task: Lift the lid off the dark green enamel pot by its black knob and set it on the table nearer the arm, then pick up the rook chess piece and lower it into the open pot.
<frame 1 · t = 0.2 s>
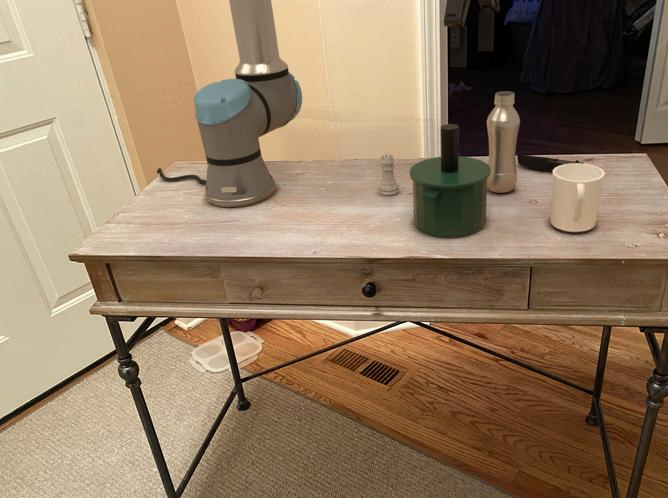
hand: (472, 58, 110), 28 cm above the table, tool pointing down, fingers open, 13 cm apart
mug: (572, 228, 113), on the table
electric trimmer: (551, 172, 136), on the table
rook chess piece: (389, 193, 132), on the table
lid: (449, 173, 112), point 10 cm above the table, touching pot
silver metal bottle: (500, 191, 129), on the table
pot: (449, 222, 118), on the table
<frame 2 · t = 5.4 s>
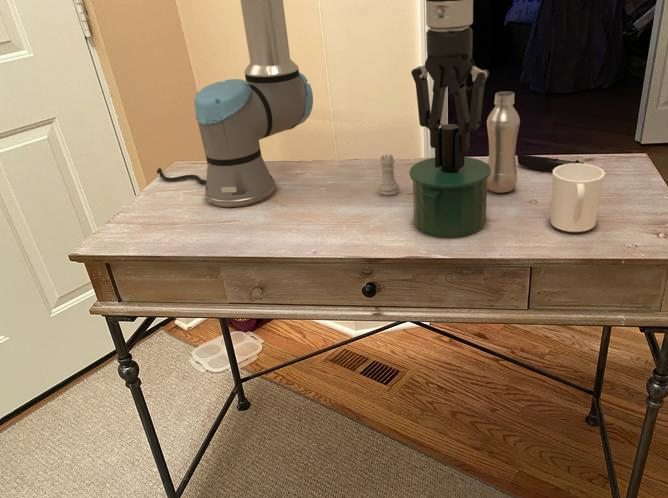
hand: (449, 165, 111), 11 cm above the table, tool pointing down, fingers closed on lid, 3 cm apart
lid: (449, 173, 112), point 10 cm above the table, touching gripper, pot
everything else where it was.
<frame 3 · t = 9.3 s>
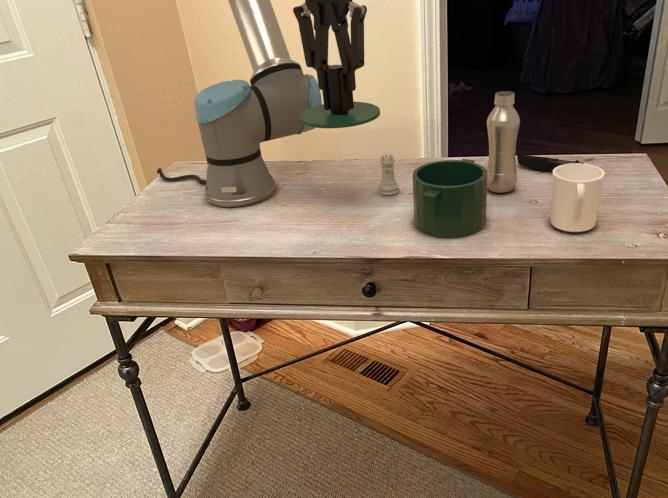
hand: (339, 108, 111), 22 cm above the table, tool pointing down, fingers closed on lid, 3 cm apart
lid: (339, 115, 111), point 20 cm above the table, touching gripper
everything else where it was.
when the fingers open (2 cm above the table, at t = 13.7 s): lid stays where it is, point 1 cm above the table.
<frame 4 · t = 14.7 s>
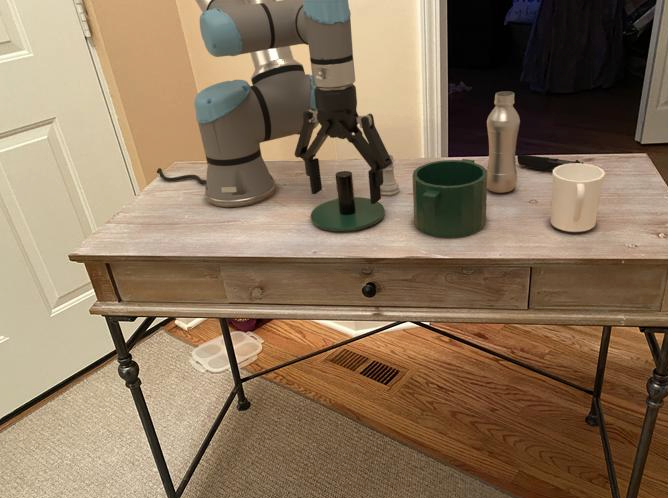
hand: (345, 196, 120), 4 cm above the table, tool pointing down, fingers open, 13 cm apart
lid: (347, 214, 122), point 1 cm above the table
everything else where it was.
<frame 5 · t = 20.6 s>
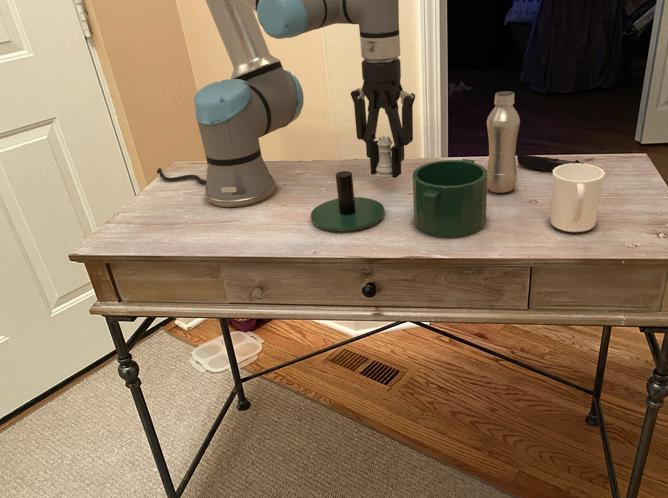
hand: (386, 173, 130), 4 cm above the table, tool pointing down, fingers closed on rook chess piece, 4 cm apart
rook chess piece: (386, 176, 130), point 4 cm above the table, touching gripper
everything else where it was.
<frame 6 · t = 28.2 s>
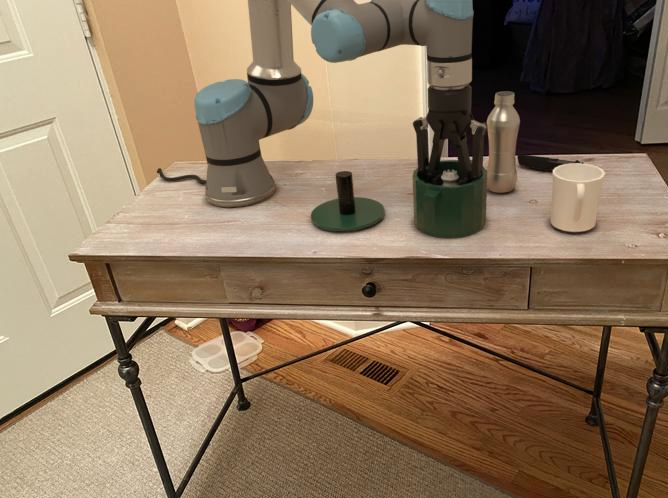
hand: (449, 210, 116), 2 cm above the table, tool pointing down, fingers closed on rook chess piece, 4 cm apart
rook chess piece: (450, 212, 116), point 2 cm above the table, touching gripper
everything else where it was.
when the fingers open (3 cm above the table, at t = 36.9 s): rook chess piece stays where it is, resting on pot.
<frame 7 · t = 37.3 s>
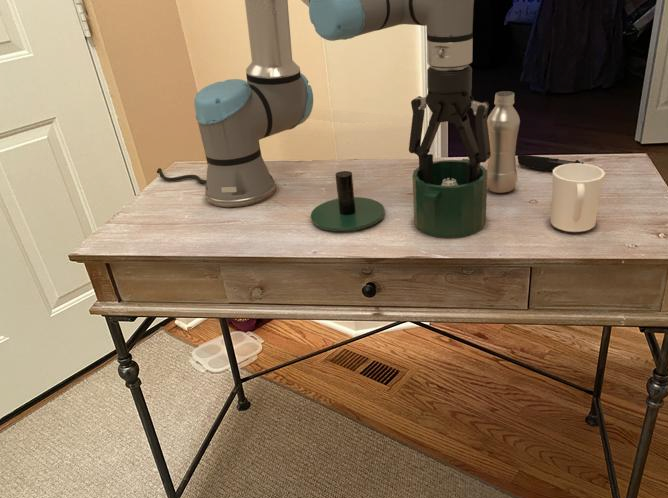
hand: (448, 192, 114), 6 cm above the table, tool pointing down, fingers open, 8 cm apart
rook chess piece: (449, 220, 117), resting on pot
everything else where it was.
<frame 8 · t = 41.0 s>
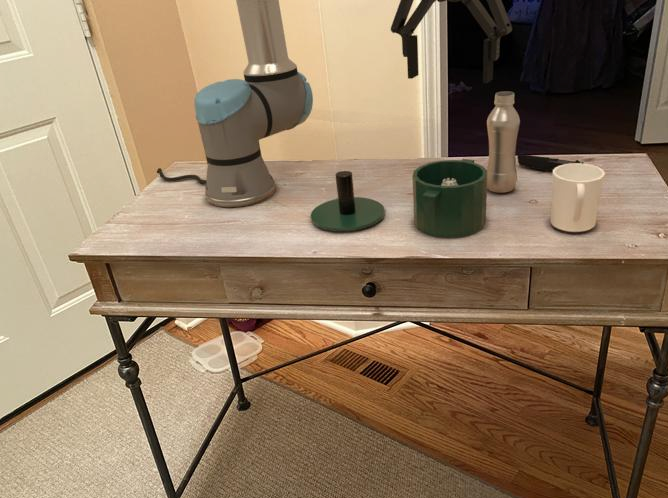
hand: (449, 79, 103), 27 cm above the table, tool pointing down, fingers open, 13 cm apart
nothing on the table moved.
at the end: lid inside the target area (0.1 cm from its centre), point 0.6 cm above the table; lid tilted 0°; rook chess piece inside the target area in the pot (0.1 cm from its centre), point 0.3 cm above the pot's base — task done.
